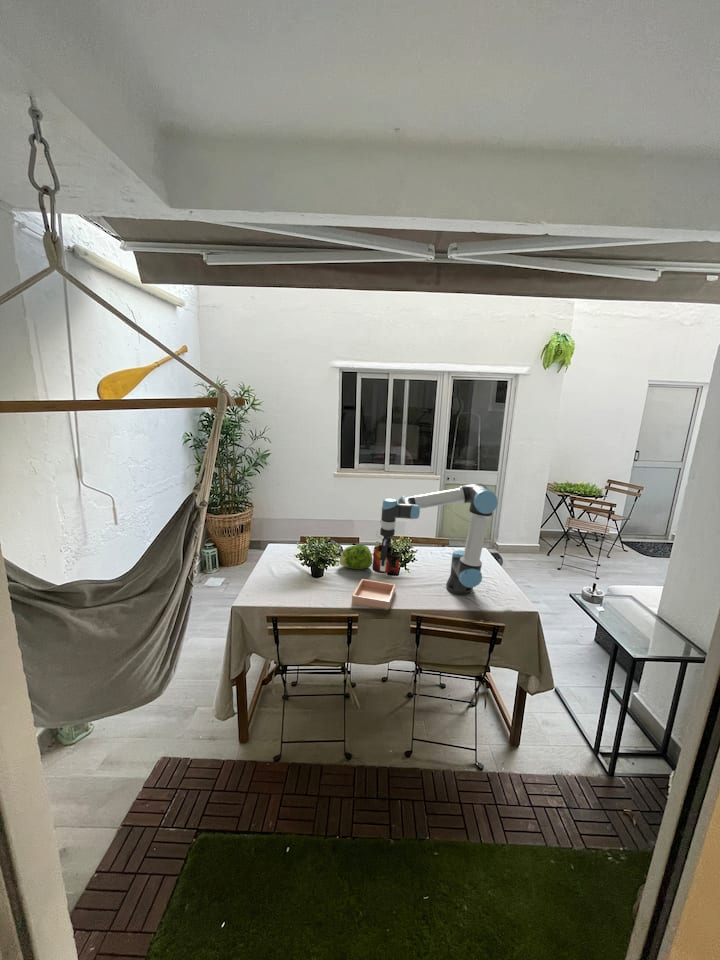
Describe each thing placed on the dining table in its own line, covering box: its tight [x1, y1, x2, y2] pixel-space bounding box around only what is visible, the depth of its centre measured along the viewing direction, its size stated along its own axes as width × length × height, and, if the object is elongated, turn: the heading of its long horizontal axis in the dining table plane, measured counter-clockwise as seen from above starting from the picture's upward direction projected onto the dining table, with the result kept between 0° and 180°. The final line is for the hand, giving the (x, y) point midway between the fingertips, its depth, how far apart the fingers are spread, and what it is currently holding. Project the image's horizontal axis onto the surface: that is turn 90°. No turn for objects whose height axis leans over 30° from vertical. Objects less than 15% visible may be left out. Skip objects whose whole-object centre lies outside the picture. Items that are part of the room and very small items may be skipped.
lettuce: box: [338, 544, 373, 570], centre depth 259 cm, size 16×21×15 cm
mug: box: [371, 544, 401, 574], centre depth 219 cm, size 10×14×12 cm
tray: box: [351, 578, 397, 611], centre depth 224 cm, size 20×20×5 cm
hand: (384, 566), depth 220 cm, fingers closed on mug, 10 cm apart
